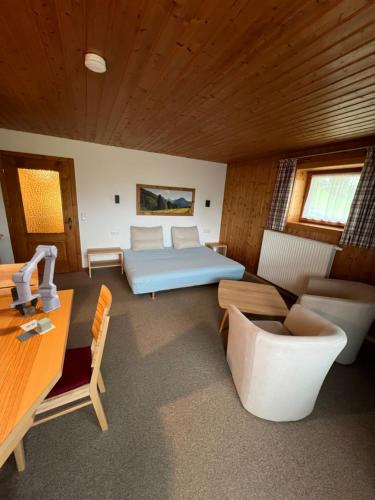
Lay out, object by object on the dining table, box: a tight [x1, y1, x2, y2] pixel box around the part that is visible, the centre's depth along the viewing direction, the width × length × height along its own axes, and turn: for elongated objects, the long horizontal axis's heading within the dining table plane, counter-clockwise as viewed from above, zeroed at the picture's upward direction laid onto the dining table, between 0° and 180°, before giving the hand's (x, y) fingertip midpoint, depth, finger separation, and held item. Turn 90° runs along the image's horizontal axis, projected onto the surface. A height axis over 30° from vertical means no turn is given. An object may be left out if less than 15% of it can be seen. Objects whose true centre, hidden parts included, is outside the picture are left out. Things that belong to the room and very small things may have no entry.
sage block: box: [36, 317, 52, 332], centre depth 116 cm, size 5×5×5 cm
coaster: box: [16, 329, 38, 343], centre depth 110 cm, size 7×7×1 cm
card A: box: [19, 319, 38, 332], centre depth 118 cm, size 8×8×1 cm
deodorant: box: [10, 286, 27, 312], centre depth 132 cm, size 6×6×15 cm
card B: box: [33, 323, 56, 335], centre depth 116 cm, size 8×8×1 cm
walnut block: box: [22, 304, 37, 319], centre depth 115 cm, size 5×5×5 cm
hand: (28, 312), depth 116 cm, fingers closed on walnut block, 5 cm apart
